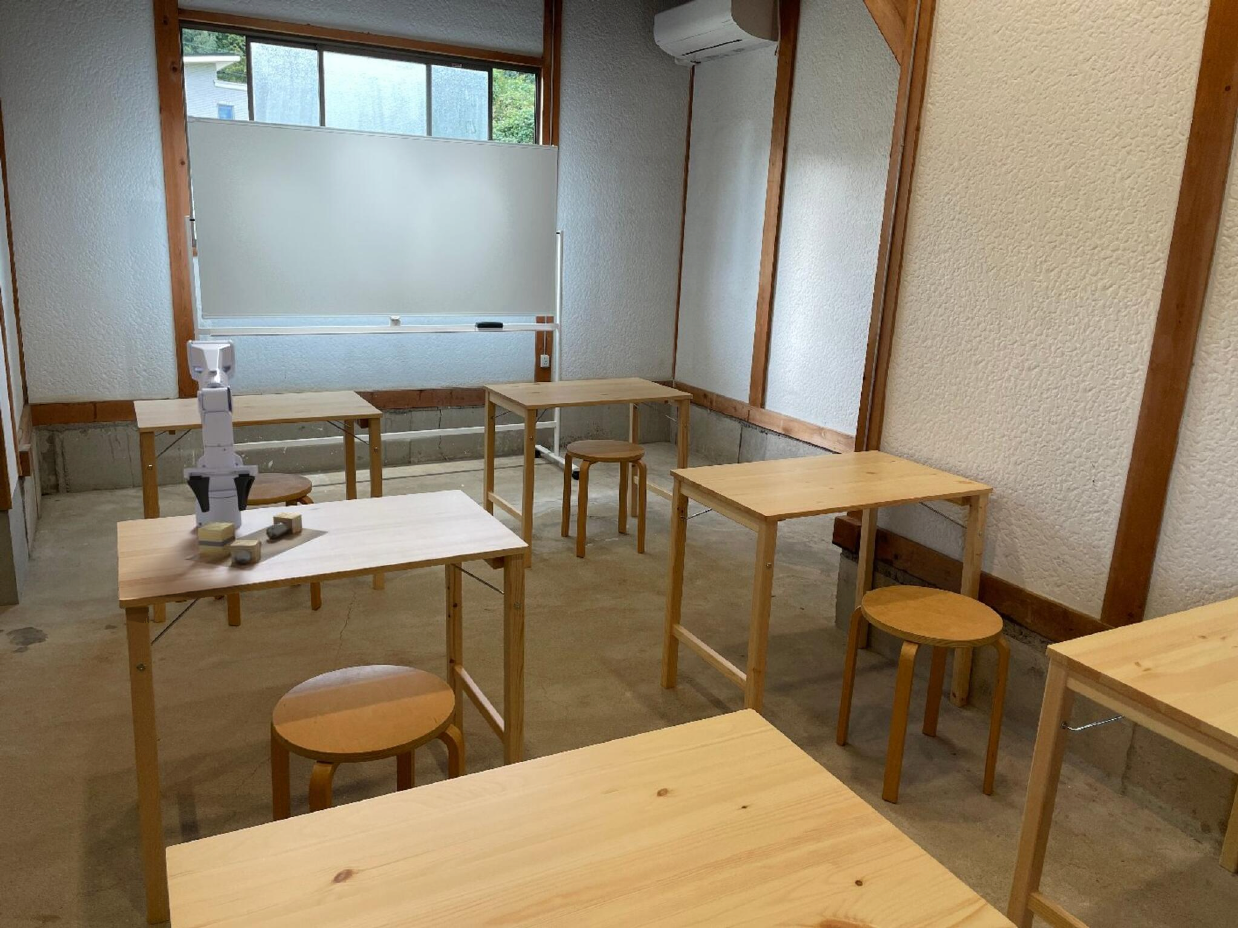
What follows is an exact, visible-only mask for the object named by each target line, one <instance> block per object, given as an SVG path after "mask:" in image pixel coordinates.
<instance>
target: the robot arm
mask: <svg viewBox="0 0 1238 928" xmlns="http://www.w3.org/2000/svg"><path fill="white" fill-rule="evenodd" d="M235 352H236V351H235V342H234V341H232V339H228V340H227V339H223V340H221V339H220V340H218V339H217V340H192V339H190V340H188V341H187V342H186V354H187V365H188V368H189V374H190V375H191V379H193V380H195V381H196V382H198V388H199V389H198V390H197V392H196V393H197V395H196V398H197V408H198V414H199V417H200V424H201V425H202V428H201V429H202V432H201V433H202V440H203V453H204V454H203V455H201V457H200V458H198V460H197V461H196V466H197V467H187V468H183V478H184V479H189V480H187V481H186V483H187V485H188V486H189V488H190V489H191V490H192V492H193V494H194V496H195V501H194V511H195V512H194V513H195V523H196V524H195V525H196V527H199V528H201V527H203V526H205V525H207V524H209V523H210V522H220V523H234V529H236V528H240V527H241V526H242V525H243V522H242V512H243V511H246V510H247V505H248V499H249V496H250V492H251V489H252V487H253V484H254V482H255V480H256V476H257V475H259V467H258V464H257V465H255V464H254V465H244V463H243V462H244V461H243V459H242V457H241V456H240V455H238V454H236V452H235V443H234V431H233V430H234V429H233V427H234V426H233V415H234V399H233V391H232V389H231V386H230V383H229V380H232V379H233V378H235V374H236V354H235ZM229 412H230V413H231V414H230V413H229Z"/></svg>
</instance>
